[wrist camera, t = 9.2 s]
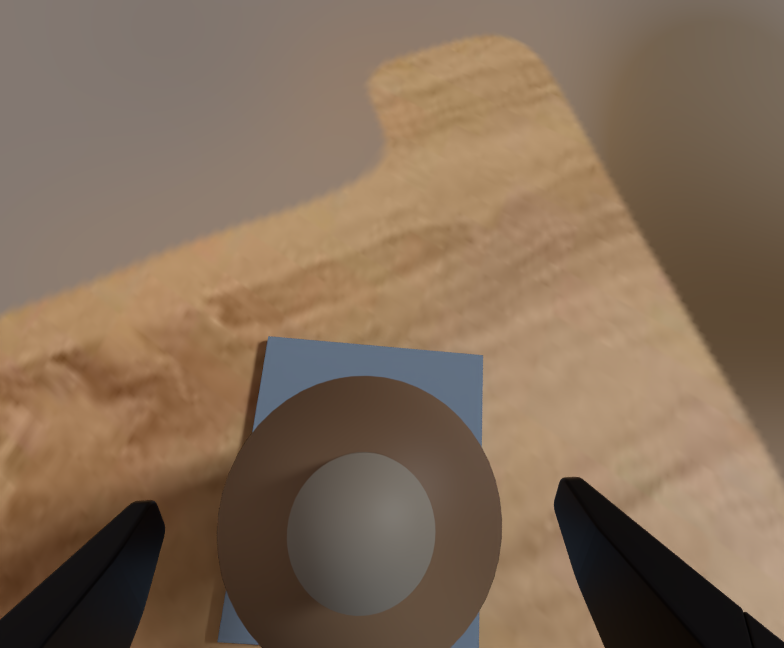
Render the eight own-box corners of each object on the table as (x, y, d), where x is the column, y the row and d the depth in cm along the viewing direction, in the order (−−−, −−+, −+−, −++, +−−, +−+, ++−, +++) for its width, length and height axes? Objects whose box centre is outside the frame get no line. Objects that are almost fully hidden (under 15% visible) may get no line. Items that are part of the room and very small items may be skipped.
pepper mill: (381, 556, 17) (423, 832, 5) (288, 493, 17) (108, 600, 5) (437, 454, 18) (582, 469, 6) (348, 398, 19) (316, 307, 6)
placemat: (475, 652, 17) (478, 658, 16) (221, 636, 16) (217, 642, 16) (480, 357, 20) (482, 355, 20) (270, 339, 20) (268, 336, 19)
